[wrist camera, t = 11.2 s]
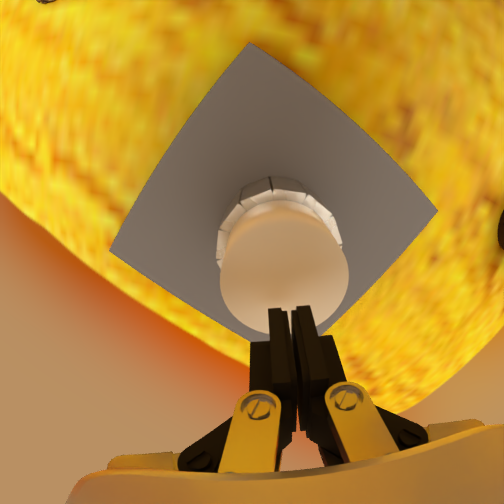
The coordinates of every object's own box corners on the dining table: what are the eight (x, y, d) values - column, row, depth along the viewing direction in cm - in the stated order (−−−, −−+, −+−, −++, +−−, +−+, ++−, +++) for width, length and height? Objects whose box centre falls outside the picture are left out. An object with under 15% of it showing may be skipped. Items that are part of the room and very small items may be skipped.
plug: (317, 182, 22) (351, 217, 14) (318, 263, 24) (344, 329, 16) (227, 188, 22) (211, 227, 14) (236, 269, 25) (228, 338, 17)
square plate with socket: (250, 46, 19) (248, 22, 13) (429, 205, 23) (467, 228, 18) (115, 244, 25) (84, 275, 20) (288, 353, 30) (293, 397, 25)
